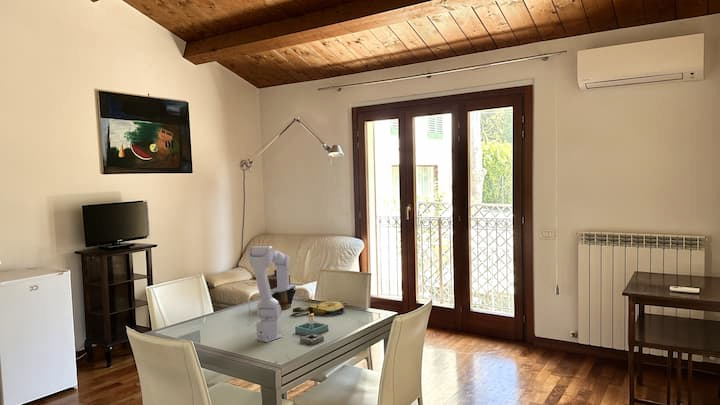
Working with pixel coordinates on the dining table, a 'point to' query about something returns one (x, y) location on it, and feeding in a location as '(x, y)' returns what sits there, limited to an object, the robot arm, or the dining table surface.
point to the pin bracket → (311, 339)
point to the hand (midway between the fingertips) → (283, 305)
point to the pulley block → (323, 308)
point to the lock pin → (311, 321)
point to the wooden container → (283, 297)
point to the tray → (305, 330)
